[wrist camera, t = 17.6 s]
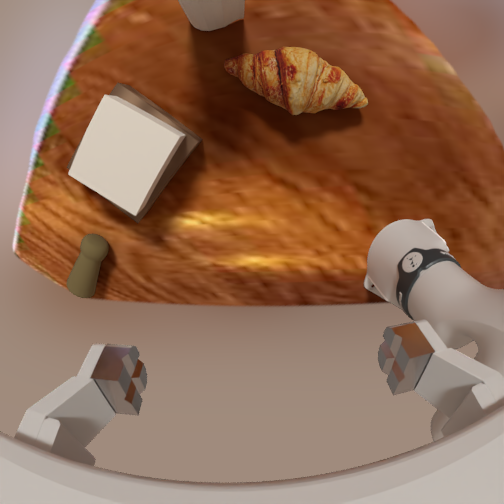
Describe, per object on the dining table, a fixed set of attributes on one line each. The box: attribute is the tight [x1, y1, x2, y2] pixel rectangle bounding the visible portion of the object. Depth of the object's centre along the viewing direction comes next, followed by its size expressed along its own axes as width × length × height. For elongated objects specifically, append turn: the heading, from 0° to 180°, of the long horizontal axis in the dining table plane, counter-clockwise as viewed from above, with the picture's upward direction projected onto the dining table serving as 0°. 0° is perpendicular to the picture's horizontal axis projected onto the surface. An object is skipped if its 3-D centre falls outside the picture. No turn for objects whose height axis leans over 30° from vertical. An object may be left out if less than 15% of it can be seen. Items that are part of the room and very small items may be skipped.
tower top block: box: [68, 95, 186, 216], centre depth 34 cm, size 12×12×4 cm
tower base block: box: [67, 83, 202, 223], centre depth 38 cm, size 15×15×5 cm
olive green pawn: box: [67, 234, 109, 298], centre depth 45 cm, size 6×6×11 cm
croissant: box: [224, 47, 368, 115], centre depth 34 cm, size 21×10×8 cm
